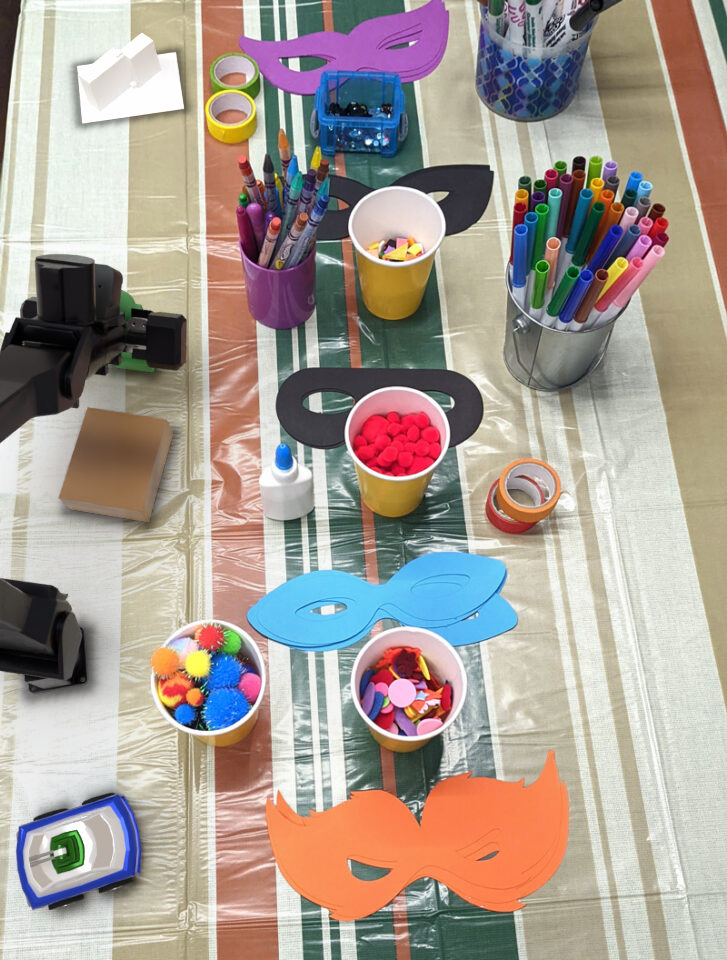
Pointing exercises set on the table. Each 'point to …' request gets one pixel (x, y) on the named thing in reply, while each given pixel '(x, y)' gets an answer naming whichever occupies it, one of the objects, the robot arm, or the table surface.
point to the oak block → (117, 464)
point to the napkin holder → (129, 83)
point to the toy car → (78, 851)
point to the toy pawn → (125, 306)
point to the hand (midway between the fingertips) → (129, 317)
